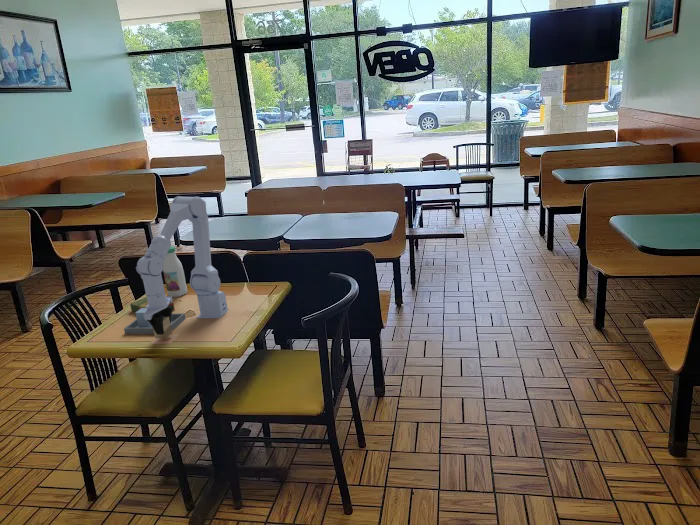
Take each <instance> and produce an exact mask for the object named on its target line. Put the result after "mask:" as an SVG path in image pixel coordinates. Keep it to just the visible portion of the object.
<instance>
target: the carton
mask: <svg viewBox="0 0 700 525" xmlns="http://www.w3.org/2000/svg"><path fill="white" fill-rule="evenodd" d="M147 305H148V301H147V296H146V297H143V298H141V299H139V300H137V301H134V302H132V303H130V305H129V306H130V309H131V312H132V313H136V312H137V311H138V310H140V309H141V308H146V306H147ZM169 305H172V306H173V311H172V312H174V311H176V310H175V304H174V301H173V302H172V303H169Z"/></svg>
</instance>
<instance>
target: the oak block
mask: <svg viewBox="0 0 700 525" xmlns="http://www.w3.org/2000/svg"><path fill="white" fill-rule="evenodd" d="M153 331H154V334H153V336H154V338H155V339H166V338H167V337H169V336H170V335H171V334H173V331H172V329H171V324H170V320H169V317H163V334H162V335H157V334H156V332H155V330H154V328H153ZM155 339H154V340H155Z"/></svg>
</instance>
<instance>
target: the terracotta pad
mask: <svg viewBox="0 0 700 525" xmlns="http://www.w3.org/2000/svg"><path fill="white" fill-rule="evenodd" d="M179 336H180V333H172V334H171V335H170V336H169V337H167V338H166V339H154V340H152V342H150V345H171V343H173V341H175V340H176V339H177V338H178V337H179Z"/></svg>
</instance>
